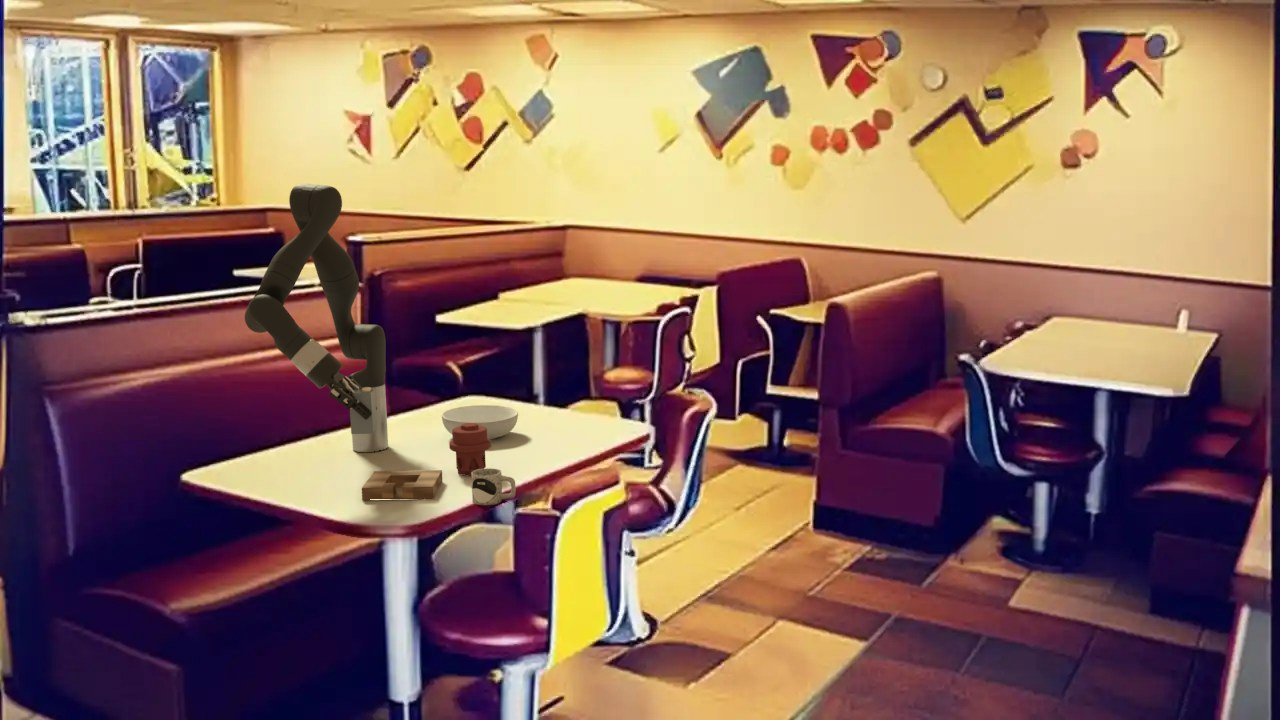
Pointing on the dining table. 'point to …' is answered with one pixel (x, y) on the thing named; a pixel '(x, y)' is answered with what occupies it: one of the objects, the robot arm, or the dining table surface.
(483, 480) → the mug
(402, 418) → the dining table surface
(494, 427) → the serving bowl
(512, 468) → the dining table surface
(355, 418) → the block
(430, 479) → the plate
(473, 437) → the mechanical component
